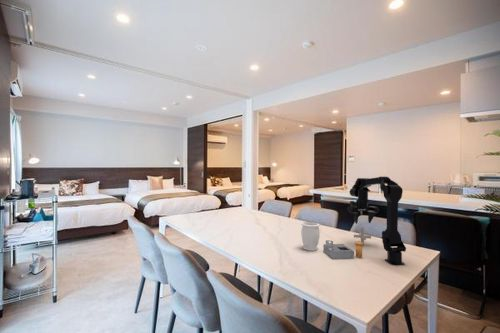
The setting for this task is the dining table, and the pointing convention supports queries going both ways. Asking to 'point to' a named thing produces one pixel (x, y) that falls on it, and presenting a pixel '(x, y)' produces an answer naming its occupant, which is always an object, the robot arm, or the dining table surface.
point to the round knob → (359, 249)
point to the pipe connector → (362, 236)
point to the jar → (310, 235)
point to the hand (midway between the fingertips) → (362, 223)
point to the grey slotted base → (338, 250)
